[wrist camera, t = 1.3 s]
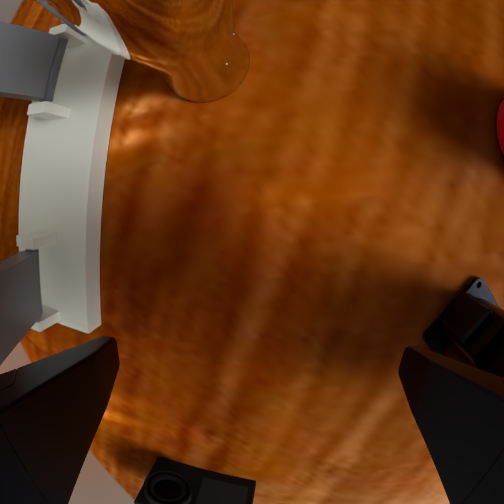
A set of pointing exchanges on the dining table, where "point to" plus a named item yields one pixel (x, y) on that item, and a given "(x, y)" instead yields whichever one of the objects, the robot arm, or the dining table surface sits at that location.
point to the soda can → (501, 126)
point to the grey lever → (29, 62)
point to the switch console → (69, 182)
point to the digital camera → (192, 486)
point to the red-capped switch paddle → (18, 298)
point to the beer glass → (166, 39)
